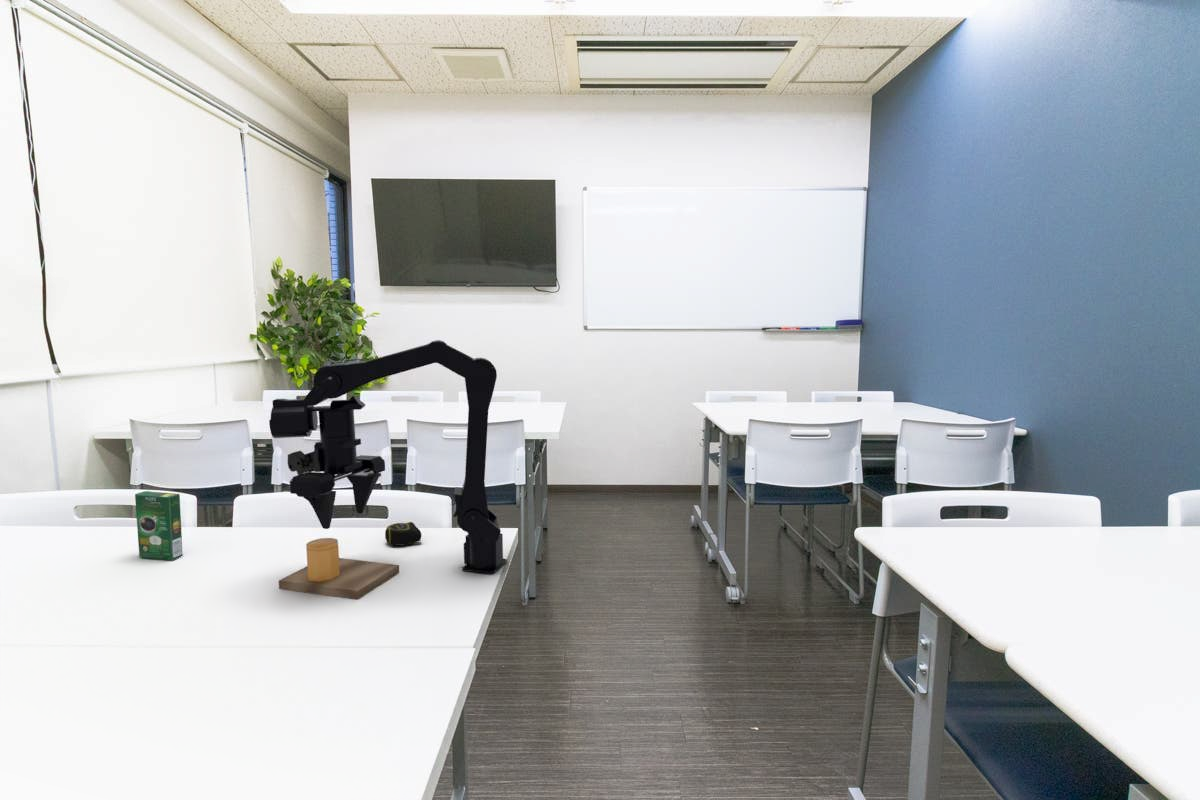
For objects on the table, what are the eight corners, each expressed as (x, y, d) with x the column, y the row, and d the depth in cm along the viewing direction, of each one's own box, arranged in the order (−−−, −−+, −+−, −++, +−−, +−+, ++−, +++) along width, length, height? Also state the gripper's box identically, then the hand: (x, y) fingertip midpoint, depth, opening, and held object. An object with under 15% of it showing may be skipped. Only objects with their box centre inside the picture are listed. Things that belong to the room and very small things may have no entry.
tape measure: (422, 545, 130) (422, 528, 130) (388, 550, 127) (388, 533, 127) (415, 536, 136) (415, 519, 136) (382, 540, 133) (382, 523, 133)
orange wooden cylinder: (345, 571, 112) (344, 539, 111) (325, 582, 107) (324, 549, 106) (322, 568, 113) (320, 536, 113) (301, 579, 108) (299, 546, 108)
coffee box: (185, 556, 124) (180, 492, 122) (173, 561, 121) (168, 495, 120) (151, 553, 125) (146, 490, 124) (138, 558, 123) (132, 493, 121)
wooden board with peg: (399, 572, 115) (398, 538, 115) (357, 599, 104) (355, 562, 103) (326, 563, 120) (325, 531, 119) (279, 588, 108) (276, 552, 107)
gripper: (334, 425, 121) (339, 503, 123) (259, 443, 103) (266, 534, 105) (384, 427, 118) (389, 506, 120) (315, 445, 100) (322, 538, 102)
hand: (343, 520), depth 112 cm, fingers open, 9 cm apart
